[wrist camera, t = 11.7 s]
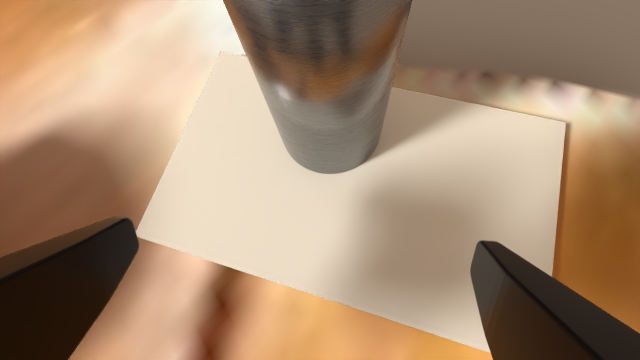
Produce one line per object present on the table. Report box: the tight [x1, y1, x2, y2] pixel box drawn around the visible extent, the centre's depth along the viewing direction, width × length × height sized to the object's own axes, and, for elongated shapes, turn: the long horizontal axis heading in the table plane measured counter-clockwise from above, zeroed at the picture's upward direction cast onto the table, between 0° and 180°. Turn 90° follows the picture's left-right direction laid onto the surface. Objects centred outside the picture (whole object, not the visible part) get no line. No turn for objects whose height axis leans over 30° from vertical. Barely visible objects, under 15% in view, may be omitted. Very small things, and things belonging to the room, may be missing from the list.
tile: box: [136, 51, 566, 353], centre depth 17 cm, size 20×12×1 cm, turn 73°
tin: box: [223, 0, 412, 174], centre depth 12 cm, size 6×6×13 cm
